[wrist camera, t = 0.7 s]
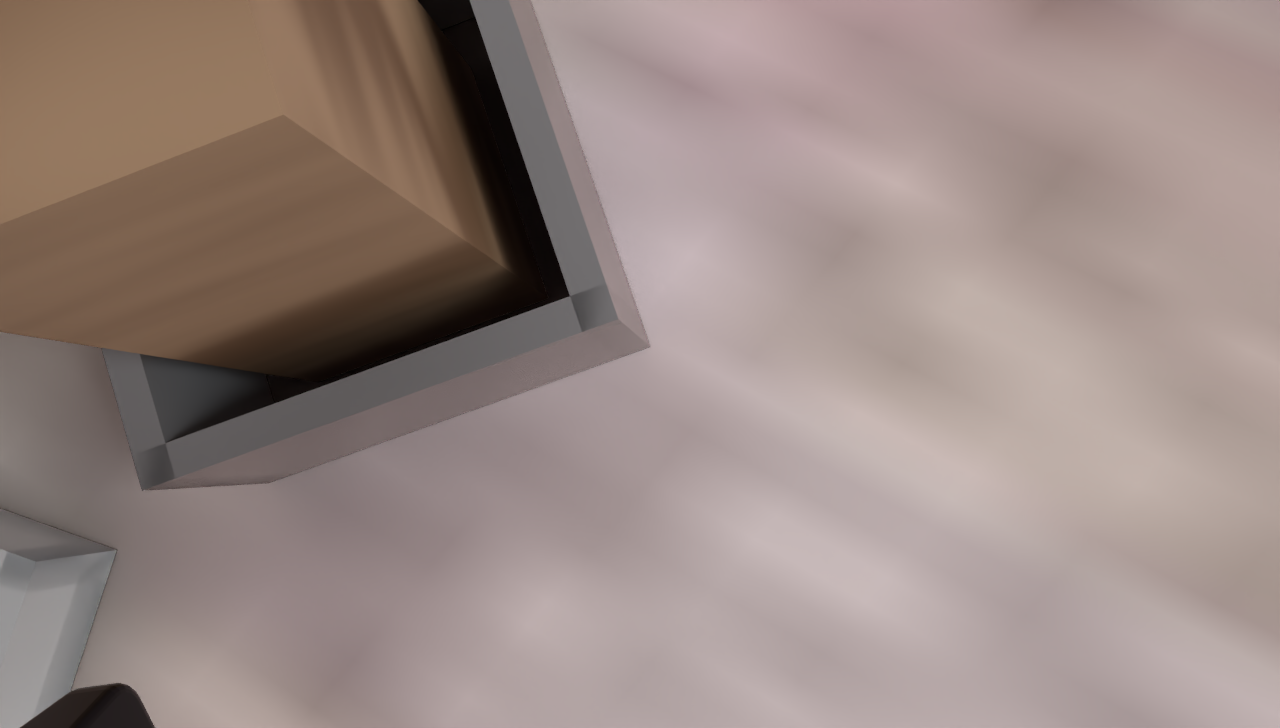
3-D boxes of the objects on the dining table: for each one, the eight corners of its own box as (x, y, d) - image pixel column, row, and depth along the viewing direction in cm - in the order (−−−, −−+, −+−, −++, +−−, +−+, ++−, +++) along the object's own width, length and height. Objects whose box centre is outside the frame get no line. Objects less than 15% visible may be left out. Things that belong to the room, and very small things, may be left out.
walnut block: (548, 298, 22) (284, 114, 10) (318, 381, 22) (-196, 299, 11) (471, 69, 23) (134, -361, 11) (248, 155, 23) (-314, -165, 11)
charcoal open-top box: (650, 346, 22) (618, 318, 17) (268, 483, 22) (141, 490, 18) (519, -31, 23) (456, -151, 18) (156, 111, 23) (11, 30, 19)
